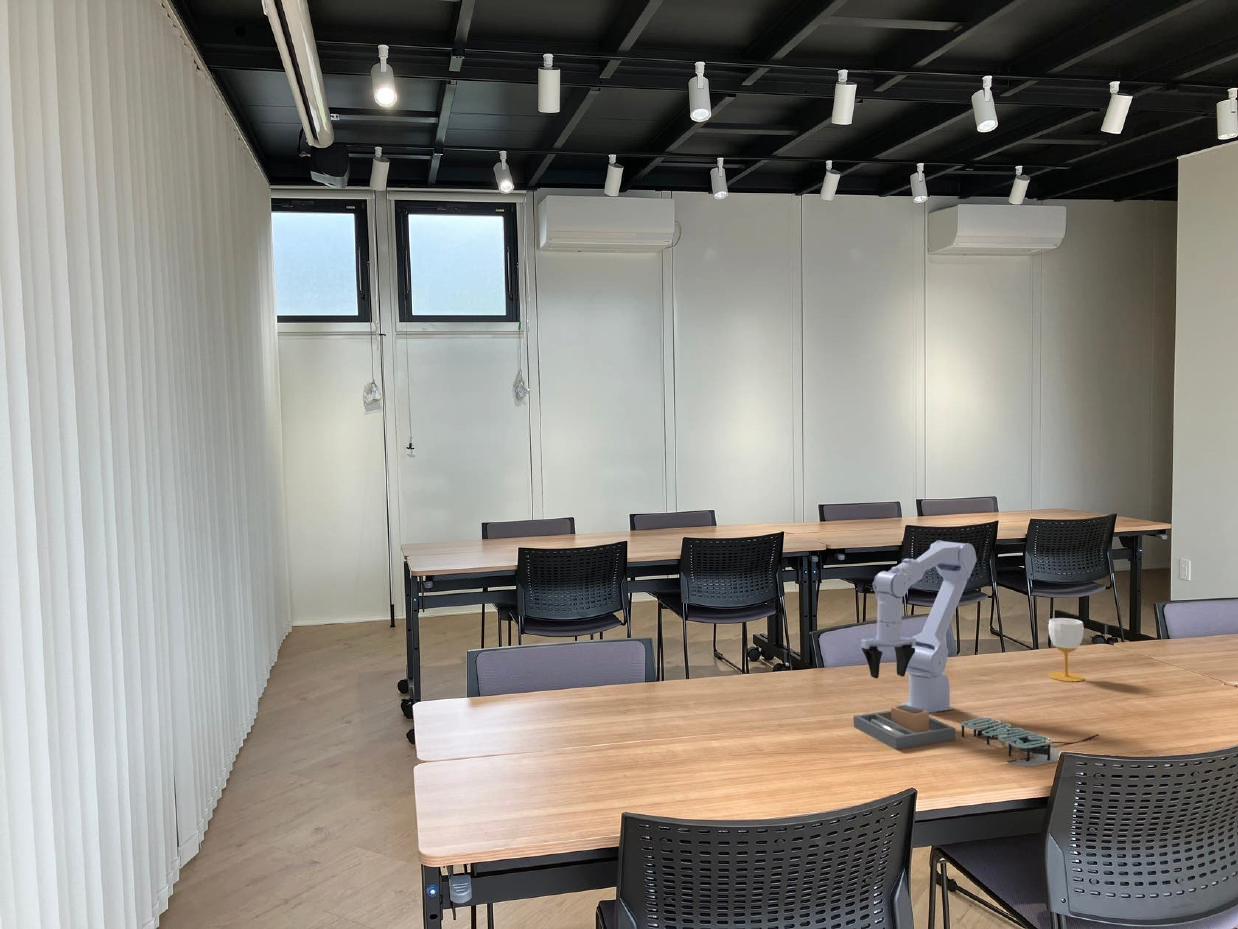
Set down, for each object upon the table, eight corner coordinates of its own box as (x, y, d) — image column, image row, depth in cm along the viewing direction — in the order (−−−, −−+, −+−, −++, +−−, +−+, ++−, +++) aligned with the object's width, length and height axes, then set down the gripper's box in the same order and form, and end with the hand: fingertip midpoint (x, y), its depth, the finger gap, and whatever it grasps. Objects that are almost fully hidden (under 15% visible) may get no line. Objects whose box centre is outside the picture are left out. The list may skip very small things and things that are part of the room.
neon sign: (1121, 729, 187) (1023, 750, 176) (1121, 748, 188) (1023, 771, 176) (1039, 702, 207) (947, 720, 195) (1039, 719, 207) (947, 738, 196)
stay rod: (868, 722, 201) (874, 717, 202) (871, 728, 201) (878, 724, 202) (900, 738, 190) (907, 733, 190) (904, 746, 190) (910, 740, 191)
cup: (1090, 681, 235) (1090, 624, 235) (1058, 682, 235) (1057, 624, 235) (1073, 672, 244) (1073, 617, 244) (1042, 673, 245) (1041, 618, 244)
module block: (904, 725, 203) (903, 702, 202) (928, 733, 197) (928, 710, 197) (891, 728, 200) (891, 706, 200) (916, 737, 194) (915, 714, 194)
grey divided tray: (909, 719, 207) (909, 707, 207) (955, 741, 192) (955, 728, 192) (853, 728, 202) (853, 715, 202) (896, 751, 187) (896, 737, 187)
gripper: (903, 617, 214) (902, 671, 214) (854, 619, 210) (852, 674, 210) (922, 622, 208) (920, 678, 208) (871, 624, 203) (870, 681, 203)
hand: (887, 676), depth 208 cm, fingers open, 7 cm apart
